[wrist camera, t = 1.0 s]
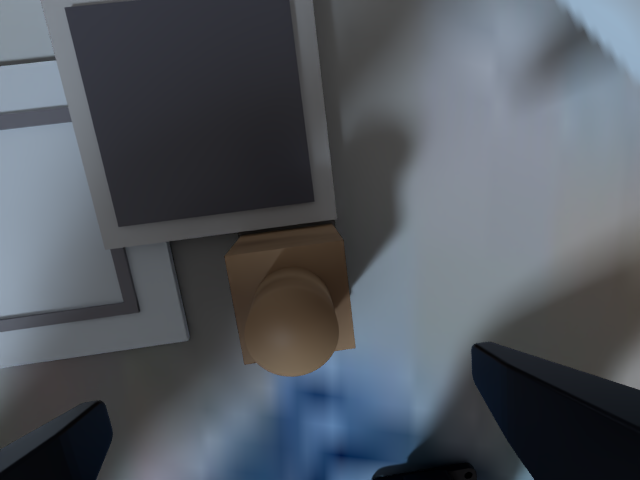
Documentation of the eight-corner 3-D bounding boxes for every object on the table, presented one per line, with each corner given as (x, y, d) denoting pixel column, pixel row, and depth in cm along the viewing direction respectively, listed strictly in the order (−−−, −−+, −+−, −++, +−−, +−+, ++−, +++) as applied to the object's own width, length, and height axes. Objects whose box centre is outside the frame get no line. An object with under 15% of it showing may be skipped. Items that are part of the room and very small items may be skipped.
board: (190, 337, 19) (186, 342, 18) (-82, 376, 18) (-95, 384, 17) (128, 55, 16) (122, 51, 15) (-199, 90, 15) (-219, 87, 14)
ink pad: (334, 215, 18) (338, 219, 16) (118, 244, 17) (101, 251, 16) (307, -25, 16) (308, -45, 14) (56, 0, 15) (31, -19, 14)
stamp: (342, 304, 19) (373, 389, 12) (255, 316, 19) (229, 411, 11) (332, 217, 18) (359, 250, 11) (240, 230, 18) (201, 272, 10)
